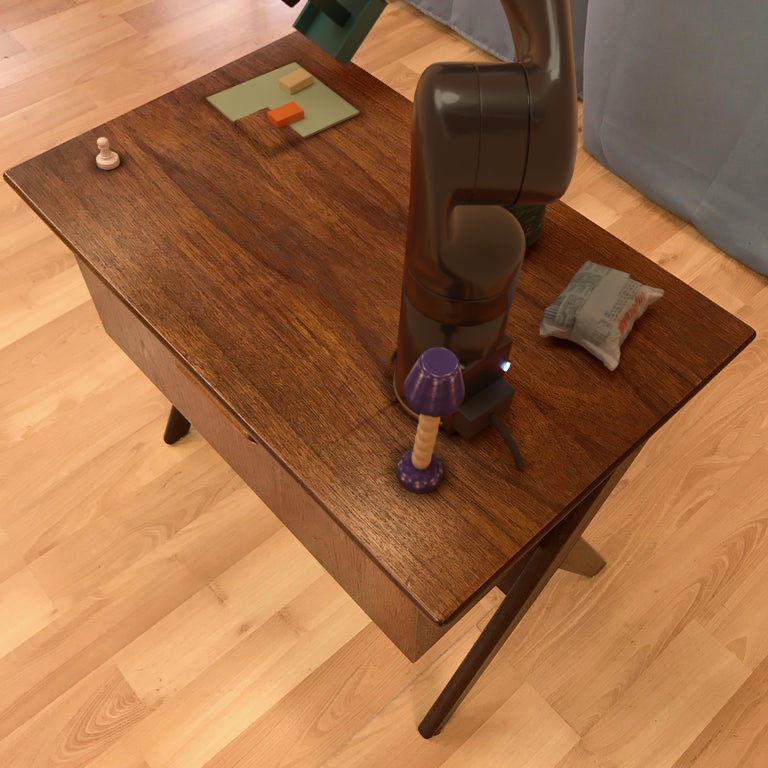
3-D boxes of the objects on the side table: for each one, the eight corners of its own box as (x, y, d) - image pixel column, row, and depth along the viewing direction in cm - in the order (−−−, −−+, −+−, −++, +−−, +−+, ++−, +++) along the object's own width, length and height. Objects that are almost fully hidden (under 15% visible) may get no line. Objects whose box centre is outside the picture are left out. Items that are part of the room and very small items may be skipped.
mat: (359, 114, 102) (359, 111, 102) (269, 155, 96) (268, 152, 96) (295, 64, 108) (295, 61, 108) (206, 100, 103) (206, 97, 102)
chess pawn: (92, 165, 94) (85, 140, 91) (107, 153, 95) (100, 129, 93) (109, 173, 93) (102, 148, 90) (124, 161, 95) (117, 136, 92)
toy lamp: (457, 477, 71) (484, 360, 57) (422, 509, 69) (440, 397, 55) (418, 443, 73) (435, 324, 59) (382, 474, 70) (391, 357, 57)
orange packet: (277, 121, 98) (277, 129, 99) (304, 110, 99) (304, 118, 100) (266, 111, 99) (267, 120, 100) (293, 100, 101) (293, 109, 102)
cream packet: (313, 83, 105) (312, 75, 104) (290, 95, 103) (290, 87, 102) (300, 75, 106) (300, 67, 105) (278, 87, 104) (277, 79, 103)
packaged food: (656, 310, 84) (671, 276, 80) (608, 382, 78) (621, 350, 74) (581, 275, 86) (592, 241, 83) (529, 342, 80) (538, 309, 76)
